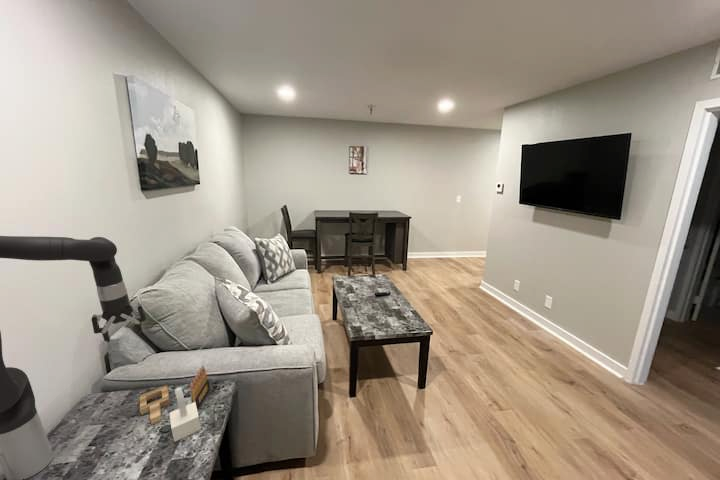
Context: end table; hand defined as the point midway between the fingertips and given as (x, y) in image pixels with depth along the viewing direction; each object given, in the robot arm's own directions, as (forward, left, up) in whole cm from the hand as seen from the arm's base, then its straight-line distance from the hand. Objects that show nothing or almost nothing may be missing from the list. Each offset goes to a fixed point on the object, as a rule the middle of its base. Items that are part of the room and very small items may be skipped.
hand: (124, 336), depth 106 cm
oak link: (+4, -4, -30) cm, 31 cm away
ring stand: (+12, -21, -30) cm, 39 cm away
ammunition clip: (+19, -10, -30) cm, 37 cm away
